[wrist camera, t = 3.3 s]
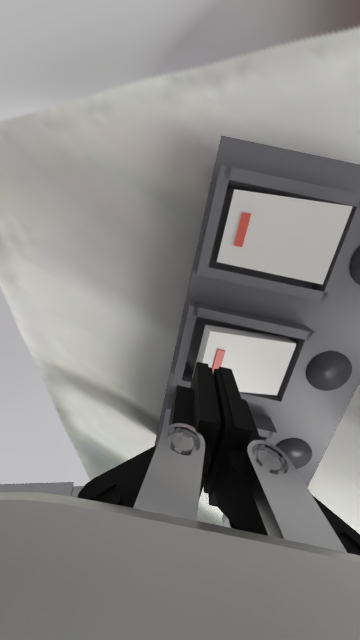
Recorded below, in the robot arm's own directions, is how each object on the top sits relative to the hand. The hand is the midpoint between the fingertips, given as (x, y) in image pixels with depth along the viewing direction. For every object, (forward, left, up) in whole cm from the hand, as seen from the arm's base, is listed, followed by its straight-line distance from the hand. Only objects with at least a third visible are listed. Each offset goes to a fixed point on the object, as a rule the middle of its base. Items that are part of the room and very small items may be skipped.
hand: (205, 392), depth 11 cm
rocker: (-3, -8, -5) cm, 10 cm away
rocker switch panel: (-5, 0, -10) cm, 11 cm away
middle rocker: (-3, 0, -5) cm, 6 cm away
